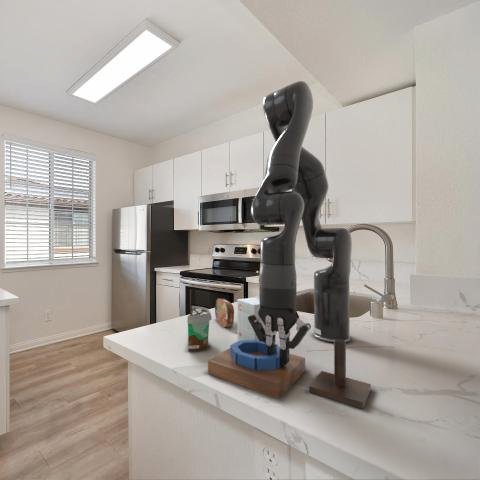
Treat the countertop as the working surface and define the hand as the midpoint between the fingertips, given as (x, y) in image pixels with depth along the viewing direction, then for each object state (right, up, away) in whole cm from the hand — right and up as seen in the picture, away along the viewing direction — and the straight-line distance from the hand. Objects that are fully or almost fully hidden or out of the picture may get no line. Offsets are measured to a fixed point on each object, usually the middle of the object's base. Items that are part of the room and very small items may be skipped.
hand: (277, 363), depth 65 cm
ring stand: (+10, -3, -5) cm, 12 cm away
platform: (-4, -3, +3) cm, 6 cm away
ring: (-4, 0, +3) cm, 5 cm away
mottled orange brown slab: (-3, -3, +41) cm, 41 cm away
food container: (-14, -3, +20) cm, 25 cm away
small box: (+1, -3, +18) cm, 19 cm away
